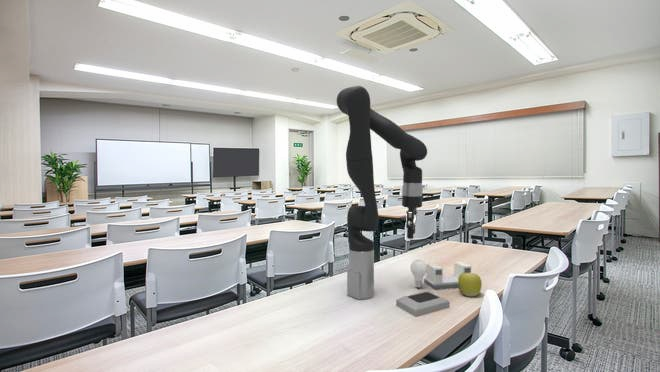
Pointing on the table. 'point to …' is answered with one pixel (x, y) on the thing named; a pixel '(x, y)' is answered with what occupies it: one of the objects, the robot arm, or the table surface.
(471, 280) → the apple
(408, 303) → the grey flat block
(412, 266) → the lightbulb
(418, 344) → the table surface
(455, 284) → the rail board
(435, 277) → the block
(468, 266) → the block
